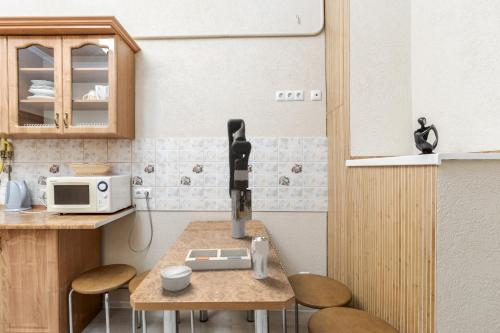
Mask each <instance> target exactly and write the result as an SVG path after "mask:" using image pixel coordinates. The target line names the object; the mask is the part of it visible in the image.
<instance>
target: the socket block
mask: <svg viewBox="0 0 500 333" xmlns="http://www.w3.org/2000/svg"><path fill="white" fill-rule="evenodd" d="M184 266H187V267H190V268H191V270H192V271H198V270H223V269H224V270H230V269H231V270H234V269H251V268H252V256H251V253H250V250H249V248H248V247H245V248H241V247H240V248H239V247H238V248H209V249H208V248H207V249H205V248H203V249H202V248H200V249H189V251H188V254H187V255H186V257H185V259H184Z"/></svg>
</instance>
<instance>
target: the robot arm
mask: <svg viewBox="0 0 500 333" xmlns="http://www.w3.org/2000/svg"><path fill="white" fill-rule="evenodd" d="M226 126H227V128H226V129H227V139H228V167H229V168H228V169H229V170H228V172H229V179H228V180H229V181H228V183H229V184H228V185H229V186H228V195H229V197H230V199H231V190H234V189H239V190H240V192H239V193H240V199H239V204H240V212H243V211H244V203H245V192H244V189H249V159H250V155H251V152H252V147H253V146H252V143H251V142H250V141H247V138H246V123H245V120H244V119H242V118H229V119H227V124H226ZM241 200H243V201H241ZM230 223H231V226H230V227H231V232H230V234H231V235H230V237H231V238H233V239H243V238H246V235H247V234H246V231H247V228H246V226H247V225H246V224H247V221H240V222H235V221H233V220H232V210H231V222H230Z"/></svg>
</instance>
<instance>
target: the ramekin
mask: <svg viewBox="0 0 500 333" xmlns="http://www.w3.org/2000/svg"><path fill="white" fill-rule="evenodd" d="M192 271H193V270H191V268H190V267H187V266H185V265H173V266H169V267H166V268H163V269H162V270H161V272H160V279H161V285H162V287H163V289H164V290H166V291H169V292H177V291H182V290H184V289H185V288H187V287H188V286H189V284H190V282H191V275H192Z"/></svg>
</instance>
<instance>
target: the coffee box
mask: <svg viewBox="0 0 500 333" xmlns="http://www.w3.org/2000/svg"><path fill="white" fill-rule="evenodd" d="M239 192H240V190H239V189H234V190H231V198H230V200H231V202H230V203H231V206H230V207H231V210H232V214H231V215H232V220H233V221H235V222H240V221H246V222H247V221H252V220H253V216H252V215H253V214H252V213H253V212H252V211H253V210H252V208H253V207H252V204H253V202H252V189H249V188H246V189H244V192H245V203H244V211H243V212H240V204H239V199H240V193H239ZM241 201H243V200H241Z"/></svg>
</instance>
